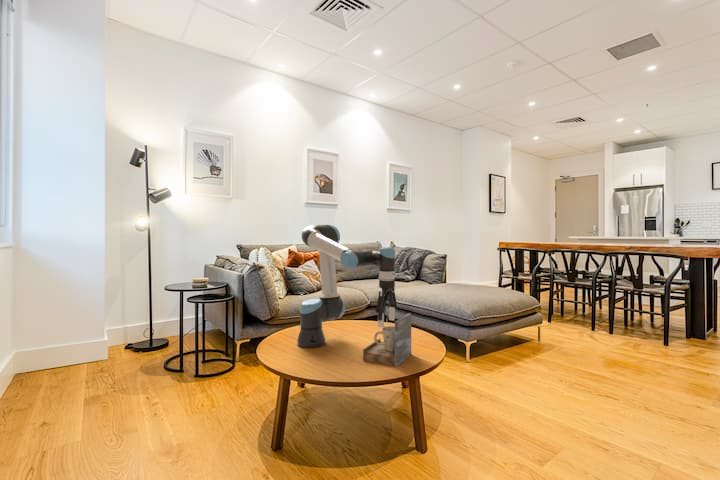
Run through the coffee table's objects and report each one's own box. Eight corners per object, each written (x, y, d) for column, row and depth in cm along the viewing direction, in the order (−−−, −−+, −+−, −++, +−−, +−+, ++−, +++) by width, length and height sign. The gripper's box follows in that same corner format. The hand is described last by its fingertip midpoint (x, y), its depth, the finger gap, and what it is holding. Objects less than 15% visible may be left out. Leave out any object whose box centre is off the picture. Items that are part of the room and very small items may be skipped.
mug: (399, 352, 165) (399, 331, 165) (372, 351, 167) (372, 330, 167) (400, 347, 173) (400, 326, 173) (375, 345, 176) (375, 325, 175)
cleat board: (363, 360, 167) (362, 317, 166) (378, 348, 183) (378, 310, 182) (398, 366, 159) (397, 322, 158) (411, 354, 175) (411, 313, 174)
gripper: (383, 283, 157) (383, 331, 158) (403, 277, 179) (402, 318, 180) (368, 282, 161) (368, 328, 162) (389, 275, 183) (389, 316, 184)
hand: (386, 323), depth 171 cm, fingers open, 13 cm apart
